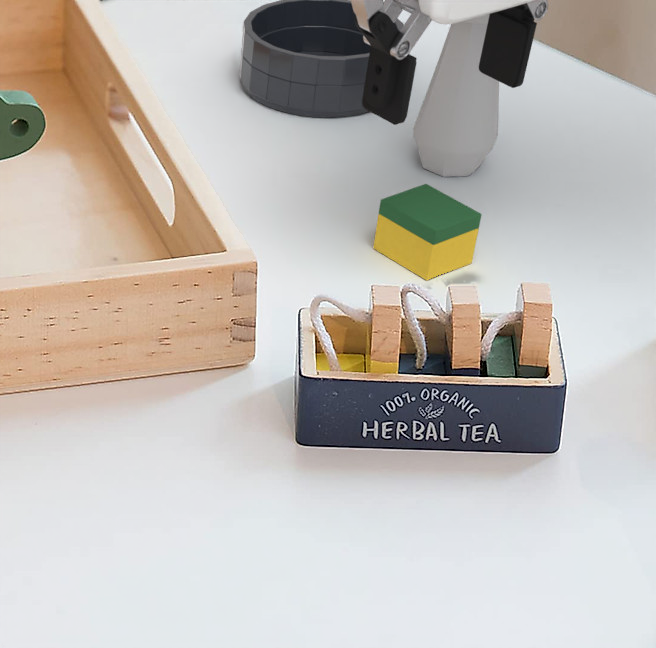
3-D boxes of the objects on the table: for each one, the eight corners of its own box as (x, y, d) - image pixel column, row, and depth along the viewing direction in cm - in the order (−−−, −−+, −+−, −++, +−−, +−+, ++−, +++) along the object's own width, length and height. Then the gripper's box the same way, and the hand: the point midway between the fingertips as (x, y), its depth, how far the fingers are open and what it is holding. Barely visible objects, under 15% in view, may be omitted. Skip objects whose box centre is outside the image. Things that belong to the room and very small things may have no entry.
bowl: (324, 42, 125) (331, -14, 122) (430, 94, 118) (440, 35, 114) (207, 76, 120) (211, 18, 117) (309, 133, 113) (316, 72, 109)
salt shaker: (456, 190, 106) (491, 2, 97) (391, 162, 109) (420, -23, 100) (507, 165, 109) (546, -20, 100) (442, 139, 112) (475, -43, 103)
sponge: (417, 232, 101) (426, 183, 99) (472, 263, 98) (482, 213, 96) (372, 248, 100) (380, 199, 97) (426, 281, 97) (436, 230, 94)
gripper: (435, -172, 75) (378, 155, 86) (668, -220, 82) (587, 88, 93) (333, -209, 79) (292, 106, 91) (563, -251, 86) (498, 45, 98)
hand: (442, 96), depth 92 cm, fingers open, 9 cm apart
